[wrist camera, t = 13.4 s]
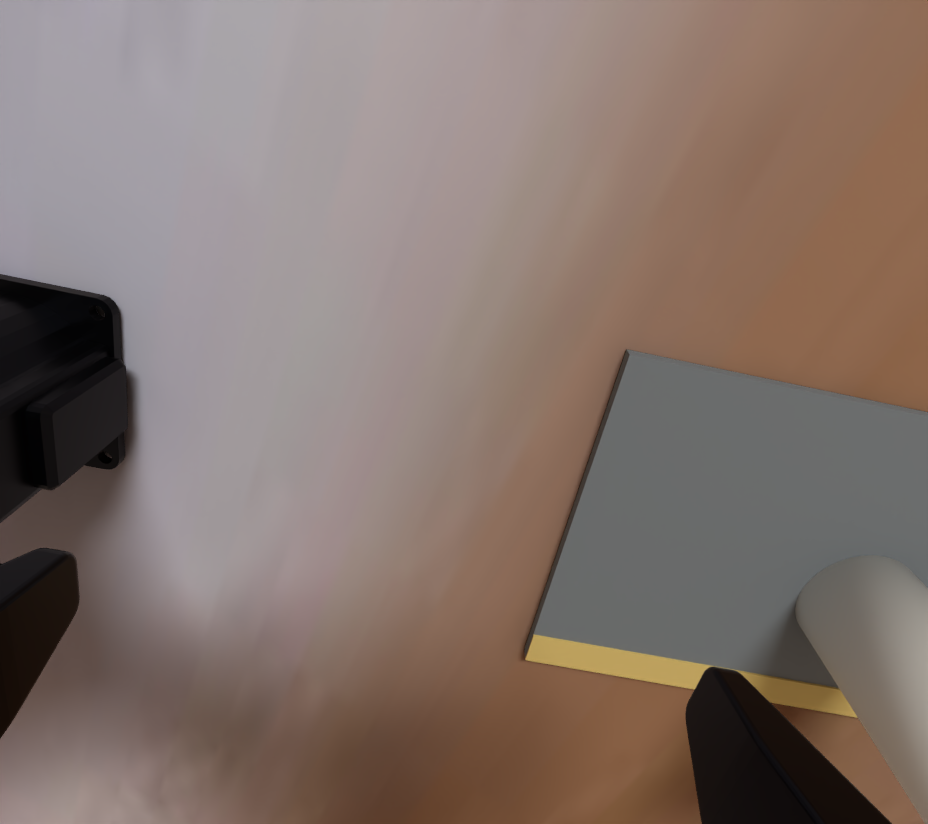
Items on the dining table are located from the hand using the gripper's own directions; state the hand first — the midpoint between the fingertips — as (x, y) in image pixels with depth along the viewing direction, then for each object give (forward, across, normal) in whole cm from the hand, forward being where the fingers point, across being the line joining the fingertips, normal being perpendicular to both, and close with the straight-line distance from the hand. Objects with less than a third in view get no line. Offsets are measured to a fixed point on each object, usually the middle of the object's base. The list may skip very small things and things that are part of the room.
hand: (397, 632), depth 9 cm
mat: (+13, -15, +6) cm, 21 cm away
